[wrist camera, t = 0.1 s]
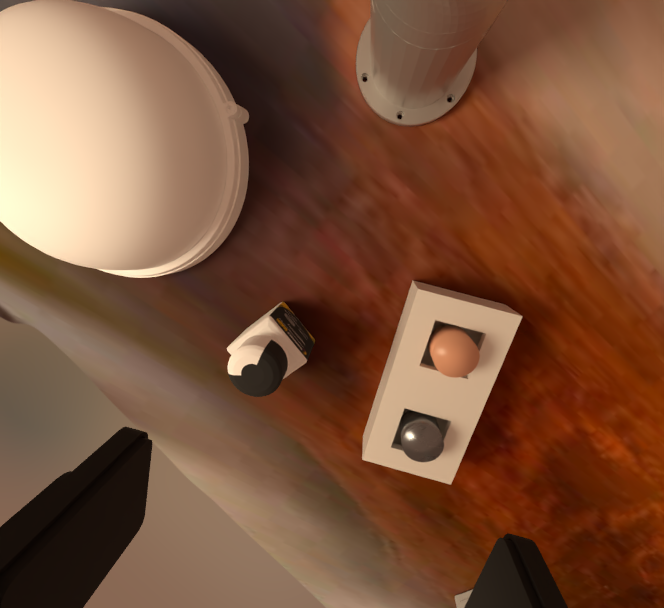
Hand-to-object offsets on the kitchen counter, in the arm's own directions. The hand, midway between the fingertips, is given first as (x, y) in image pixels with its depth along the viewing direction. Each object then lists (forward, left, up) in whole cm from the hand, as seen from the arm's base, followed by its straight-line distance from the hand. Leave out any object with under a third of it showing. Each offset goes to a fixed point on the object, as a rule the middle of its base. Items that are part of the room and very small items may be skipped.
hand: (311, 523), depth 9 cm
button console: (+11, +13, -37) cm, 40 cm away
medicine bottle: (+11, -8, -37) cm, 39 cm away
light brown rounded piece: (+5, +13, -34) cm, 36 cm away
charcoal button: (+17, +13, -34) cm, 40 cm away
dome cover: (-7, -31, -37) cm, 49 cm away
